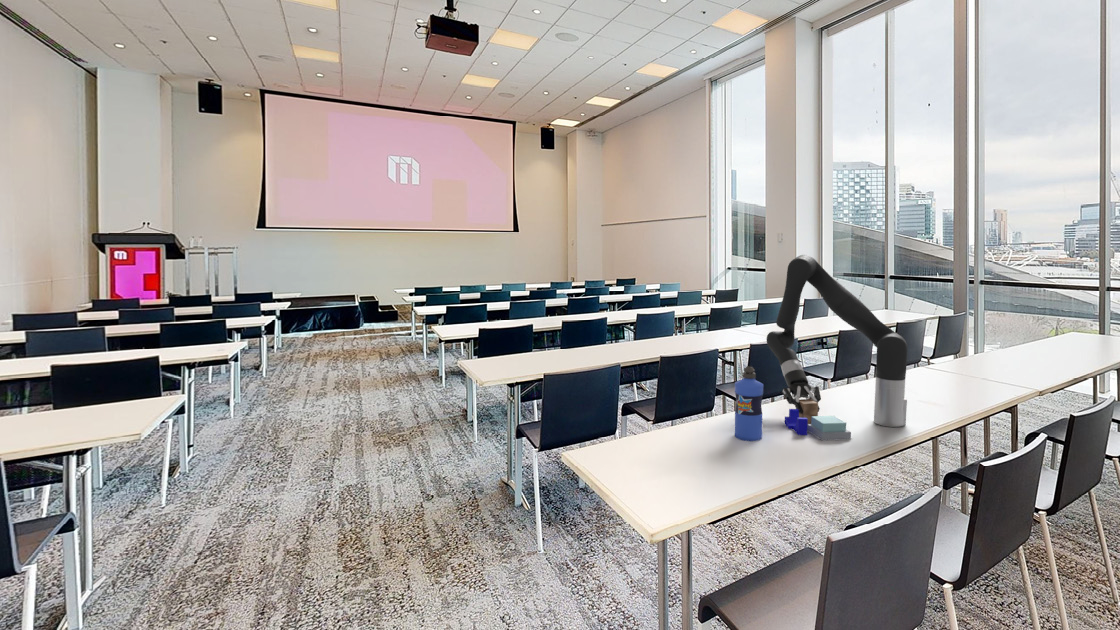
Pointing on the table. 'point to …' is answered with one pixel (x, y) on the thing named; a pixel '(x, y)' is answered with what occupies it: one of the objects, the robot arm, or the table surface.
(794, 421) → the cable clip
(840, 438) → the slate base slab
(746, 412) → the water bottle
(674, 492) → the table surface
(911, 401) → the table surface
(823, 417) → the teal top slab
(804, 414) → the walnut block
